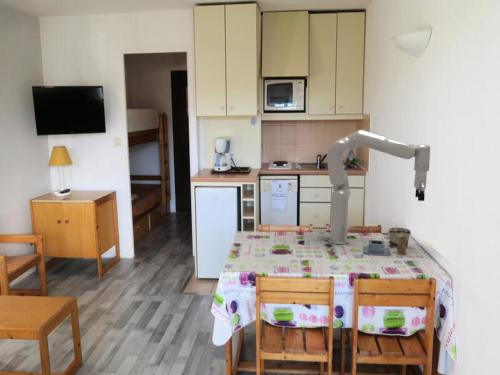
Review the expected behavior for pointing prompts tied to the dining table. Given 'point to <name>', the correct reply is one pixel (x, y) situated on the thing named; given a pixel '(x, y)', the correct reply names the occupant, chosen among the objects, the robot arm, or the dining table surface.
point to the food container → (394, 235)
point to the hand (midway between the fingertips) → (419, 198)
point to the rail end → (401, 245)
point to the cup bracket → (376, 248)
